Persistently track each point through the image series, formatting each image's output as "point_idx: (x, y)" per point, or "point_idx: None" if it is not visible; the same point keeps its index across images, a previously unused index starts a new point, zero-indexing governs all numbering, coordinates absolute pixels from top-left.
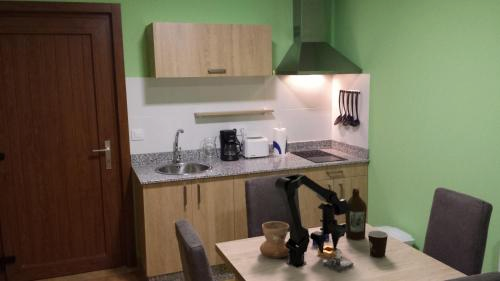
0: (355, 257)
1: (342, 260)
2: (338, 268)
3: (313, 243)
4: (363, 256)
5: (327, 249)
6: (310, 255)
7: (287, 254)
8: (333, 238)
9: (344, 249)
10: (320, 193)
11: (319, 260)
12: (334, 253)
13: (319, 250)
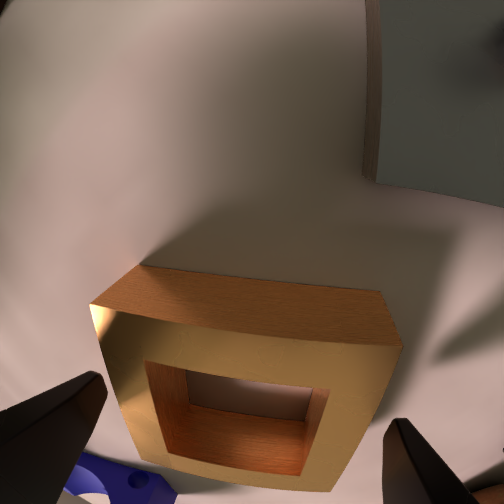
0: (79, 46)
1: (436, 5)
2: None
3: (172, 498)
4: (25, 31)
5: (186, 428)
6: None
7: (499, 492)
8: (43, 484)
9: (25, 292)
10: None
11: (481, 348)
12: (248, 307)
13: (337, 472)
